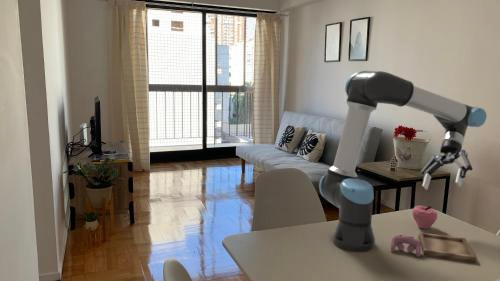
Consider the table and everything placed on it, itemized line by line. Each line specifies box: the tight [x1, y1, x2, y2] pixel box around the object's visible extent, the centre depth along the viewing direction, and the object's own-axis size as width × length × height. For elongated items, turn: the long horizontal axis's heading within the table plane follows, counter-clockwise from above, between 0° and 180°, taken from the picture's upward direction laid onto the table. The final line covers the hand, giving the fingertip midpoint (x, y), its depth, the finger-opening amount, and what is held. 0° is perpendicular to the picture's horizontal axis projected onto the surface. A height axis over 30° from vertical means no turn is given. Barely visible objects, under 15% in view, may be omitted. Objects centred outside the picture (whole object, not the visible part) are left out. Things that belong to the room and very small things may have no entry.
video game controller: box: [390, 234, 422, 258], centre depth 136 cm, size 10×5×7 cm, turn 65°
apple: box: [411, 205, 438, 230], centre depth 157 cm, size 10×9×10 cm
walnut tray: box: [418, 232, 477, 264], centre depth 138 cm, size 16×16×2 cm
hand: (440, 186), depth 148 cm, fingers open, 13 cm apart
